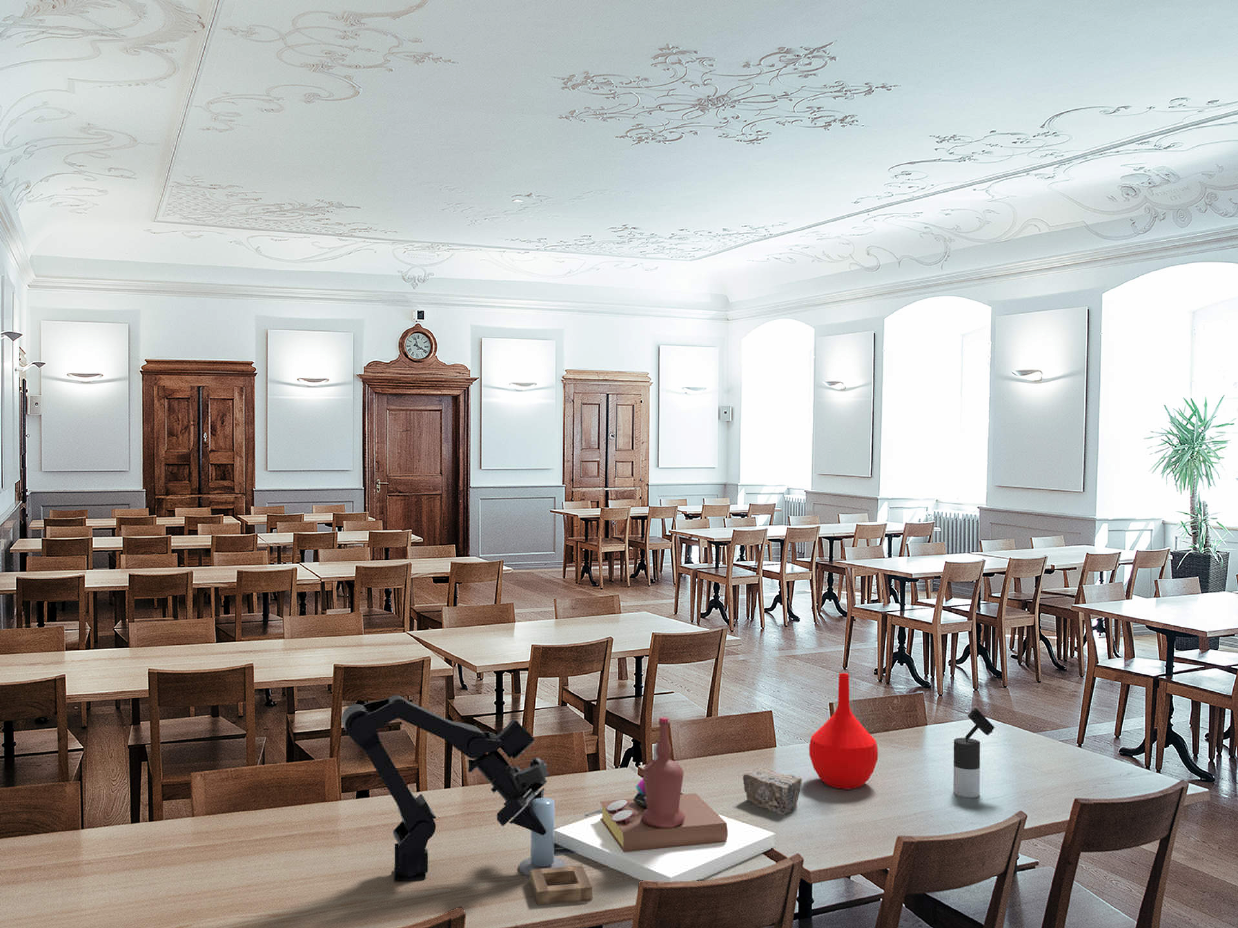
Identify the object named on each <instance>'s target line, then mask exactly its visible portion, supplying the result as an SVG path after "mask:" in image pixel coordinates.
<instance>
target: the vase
mask: <svg viewBox="0 0 1238 928" xmlns="http://www.w3.org/2000/svg"><path fill="white" fill-rule="evenodd" d="M837 693H838V695H837V700H838V701H837V707H836V708H835V711H834V713H833V714H832V715H831V716H830V717H829V718H828V719H827V721H825V723H824V724H823V725H821V727H820V728H819V729H817V730H816V731H815V732H814V733H813V734H812V735H811V737H810V742H809V746H808V751H809V753H808V755H809V758H810V761H811V763H812V767H813V770H814V772H815V773H816V774H817V776H818V778H819V779H820V780H821V781H822V782H823V783H824V784H825V785H827V786H829V787H831V788H834V787H835V789H840V788H841V790H854V789H858V788H860V787H862V786H863V785H864V784H866V782H868V781H869V779H870V777H871V776H872V774H873V773H874V770H875V767H876V765H877V762H878V759H879V758H878V757H879V756H878V754H879V751H878V750H879V748H878V745H877V741H876V739H875V738H874V737H873V736H872V735H871V734H870V733H869V732H868V731H867V730H866V728H865V727H864V726H863V725H862V723H861V722H860V720H858V719H857V718H856V716H855V715H854V714H853V712H852V710H851V707H850V706H851V705H850V674H849V673H846V672H840V673H838V690H837Z"/></svg>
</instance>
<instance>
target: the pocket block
mask: <svg viewBox="0 0 1238 928" xmlns="http://www.w3.org/2000/svg"><path fill="white" fill-rule="evenodd" d="M529 882H530V885H531V887H532V892H533V895H534V899H535V901H536V904H537V905H546V904H547V905H549V904H559V903H567V902H569V903H570V902H580V901H591V900H593V886H592V883H591V881H590V880H589V877H588V875H587V873H586V870H585V869H584V866H583V865H571V866H570V865H569V866H566V867H557V868H545V869H532V870H530V876H529Z"/></svg>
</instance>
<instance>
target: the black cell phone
mask: <svg viewBox="0 0 1238 928" xmlns="http://www.w3.org/2000/svg"><path fill="white" fill-rule="evenodd" d="M558 828H559V827H556V828H555V827H554V830H555V829H558ZM572 854H578V853H577V852H574V851H572V850H569V849H567V848H565V847H563V846H560V845H558V844H556V843H554V857H556V856H565V855H572Z"/></svg>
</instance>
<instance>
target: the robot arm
mask: <svg viewBox="0 0 1238 928" xmlns="http://www.w3.org/2000/svg"><path fill="white" fill-rule="evenodd" d="M397 719H400V720H402V721H404V722H406V723H409V724H410V725H413V726H414V727H417V728H419V729H421V730H423V731H425V732H428V733H430V734H432V735H434V736H436V737H438V738H441V739H443V740H444V741H446V742H447V743H449V744H450V745H451V746H452V747H453V748H455V749H456V750H458V751H459V752H461V753H462V754H463V755H464V756H466V757H467V758H469V759H468V760H467V762H468V769H467V771H468V773H469V774H470V773H472V772H473V771H474V770H476V769H477V770H478V771H479V772H480V773H481V775H482V776H483V777H484V778H485V779H486V780H487V781H488V782H489V783H490V785H491V786H492V787H491V789H490V790H491V792H492V793H493V794H495V793H496V792H497V793H498V794H499V795H500V796H501V798H503V800H504V801H505V802H504V803H503V807H502V808H501V809H500V810H499V811H498V812H497V814H496V820H497V822H498V823H499V824H500V825H501V826H502V827H504V826H505V825H506V824H507V823H508V822H509V825H512V824H514V825H516V826H519V827H522V828H525V829H527V830H529V831H530V832H531V831H534V832H536V833H538V834H541V835H544V834H545V833H546V830H545V828H544V826H543V825H542V823H541V822H540V821H539V819H538V818H537V816H536V815H535V813H534V812H533V803H532V800H533V799H536V798H544V793H545V789H546V788H545V787H544V786H545V785H546V783H547V782H548V780H547V779H546V777H549V772H548V770H547V767H548V764H547V763H545V760H542V759H541V758H540V757H535V758H533V759H531V760H530V762H529V766H527V767H526V768H523V769H521V768H520V767H519V766H517V765H515V766H512V765H511V764H510V762H509V761H508V760H507V759H506V758H505V757H504V756H503V755H502V753H501V752H500V751H499V749H500V750H501V751H502V752H503V754H505V756H506V757H507V758H508V759H511V758H512V759H513V760H515V759H516V760H517V759H518V758H519V757H520V756H521V755H522V754H524V752H525V751H526V750H527V749H529V748H530V746H532V745H533V744H534V742H536V740H535V738H534V737H533V736H532V735H531V733H529V731H528V730H526V729H525V728H524V727H523V726H522V725H521V724H520V723H519V722H518V720H517V719H515V718H512V719H511V720H510V721H509V723H508V724H507V725H506V726H505V727H504V728H503V729H502V730H501V731H500V732H499V733H498V734H495V733H494V732H490V731H483V730H481V729H480V728H478V727H477V726H476V725H472V724H469V723H466V722H465V723H464V722H460V721H453V720H450V719H447V718H445V717H443V716H440V714H439V715H438V714H436V713H434V712H433V711H430V710H428V709H426V708H424V707H421V706H419V705H418V704H416V703H414V702H411V701H410V700H408V699H405V698H404V697H403V696H401V695H398V694H396V695H392V696H389V697H387V698H384V699H383V698H382V699H379V700H375V701H370V702H367V703H364V704H358V703H356V704H355V703H354V704H351V705H349V706H347V707H346V708H345V709H344V711H343V712H342V715H341V719H340V720H341V723H342V726H343V728H344V730H345V732H346V734H347V736H348V737H350V738H351V740H352V741H353V742H354V743H355V744H356V745H357V746H358V747H359V748H360V749H361V750H362V751H364V753H365V754H366V755H367V757H368V759H369V760H370V762H371V764H372V766H373V768H374V769H375V770H376V772H377V773H378V775H379V776H380V777H379V778H381V780H382V782H383V783H384V785H385V787H386V788H387V790H388V793H390V795H391V796H392V798H393V800H394V802H395V803H396V806H397V809H398V812H399V815H400V818H401V821H400V823H399V824H397V826H396V827H395V828H394V829H393V831H392V833H393V834H392V835H393V837H394V838H395V841H396V842H397V843H394V867H393V881H394V882H401V881H402V882H403V881H414V880H425V879H426V878H427V877H426V876H427V873H428V872H429V851H428V849H427V845H428V841H429V840H430V839H431V838H432V837H433V835H434V834H435V832H436V829H437V825H436V822H435V820H436V819H437V816H436V814H435V813H434V811H433V810H432V808H431V807H430V806H429V804H428V802H427V800H426V798H425V797H424V795H423V794H422V793H420V794H418V796H417V797H416V796H415V795H414V794H413V793H412V792H411V791H410V789H409V787H408V785H407V784H406V782H405V781H404V779H403V777H402V775H401V774H400V772H399V771H398V768H396V765H395V764H394V762H393V760H392V759H391V757H390V755H389V754H388V752H387V750H386V749H385V747H384V746H383V744H382V741H381V737H380V735H379V732H378V730H377V729H379V728H382V727H384V726H386V725H387V724H389V723H391V722H392V721H395V720H397ZM542 787H543V788H542ZM541 788H542V789H541ZM540 789H541V790H540Z"/></svg>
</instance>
